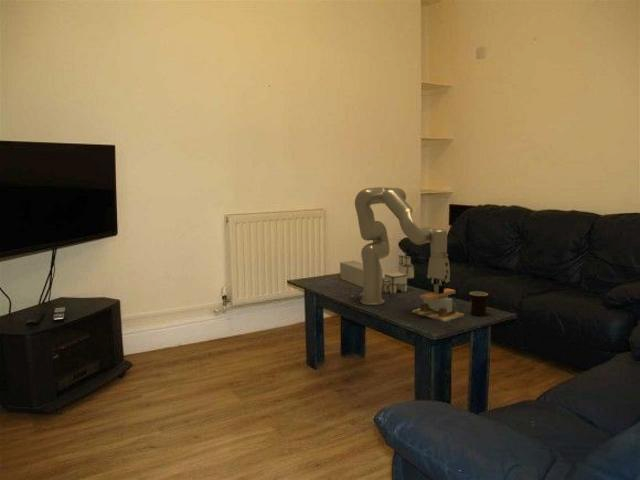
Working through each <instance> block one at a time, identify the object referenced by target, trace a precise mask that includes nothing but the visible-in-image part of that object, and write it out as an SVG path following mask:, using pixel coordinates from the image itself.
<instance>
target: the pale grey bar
mask: <svg viewBox="0 0 640 480" xmlns="http://www.w3.org/2000/svg"><path fill="white" fill-rule="evenodd" d="M423 303H425V304H428V308H430V309H434V310H438V311H439V308H444V309H446V313H448V312H451V311H452V306H453V298H450V297H448V298H446V297H439V298H438V301H434V300H426V299H423Z"/></svg>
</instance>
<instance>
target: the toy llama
mask: <svg viewBox="0 0 640 480" xmlns="http://www.w3.org/2000/svg"><path fill="white" fill-rule="evenodd" d="M411 260H412V259H411V256H408V255H406V256H405V254H404V255H403V254H400V255H398V272H393V273H387V274H386V273H385V274H384V279H383V285H384V292H385V293H389V294H390V295H397V292H399V291H400V292H401V293H403V294H404V293H407V292H408V280H409V279H414V278H415V265H414V264H412V263H411V262H412V261H411Z"/></svg>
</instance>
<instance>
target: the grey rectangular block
mask: <svg viewBox="0 0 640 480" xmlns="http://www.w3.org/2000/svg"><path fill="white" fill-rule="evenodd" d="M339 275H340V276H339V279H340V278H341V279H340V280H344V281H345V280H346V281H345V282H348V283H351V284H353V285H356V286H359V287H361V288H363V262H361V261H357V260H348V261H347V260H346V261H340V262H339ZM382 287H383V269H382V268H381V288H382Z"/></svg>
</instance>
